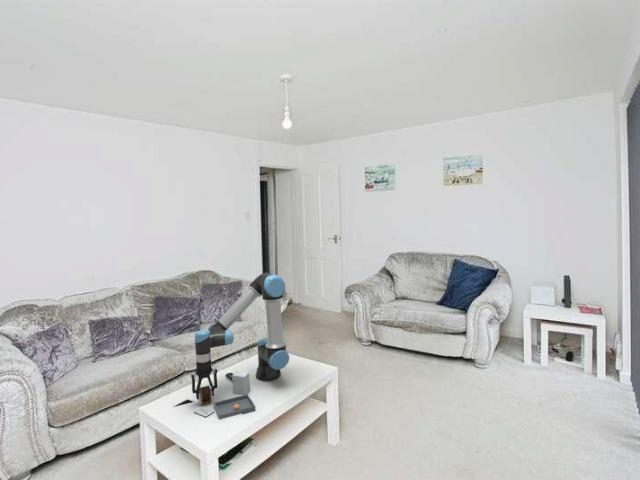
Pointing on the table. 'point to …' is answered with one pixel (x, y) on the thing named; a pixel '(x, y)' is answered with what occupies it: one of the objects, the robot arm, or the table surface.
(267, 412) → the table surface
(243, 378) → the small box
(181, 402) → the smartphone
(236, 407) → the ball
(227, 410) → the tray
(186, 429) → the table surface
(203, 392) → the brown wooden bin
